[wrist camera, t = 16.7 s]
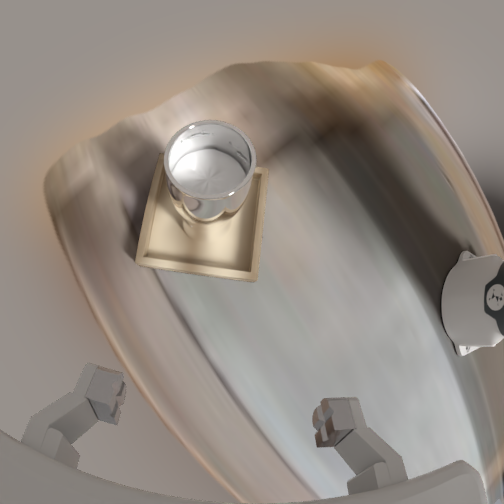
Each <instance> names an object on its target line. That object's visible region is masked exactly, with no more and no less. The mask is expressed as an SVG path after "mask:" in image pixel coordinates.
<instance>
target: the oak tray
mask: <svg viewBox="0 0 504 504" xmlns="http://www.w3.org/2000/svg"><path fill="white" fill-rule="evenodd" d="M268 174H269V169H266V168H261V167H256V168H255V171H254V174H253V179H252V184H251V187H250V190H249V193H248V196H247V198H246V200H245V202H244V204H243V206H242V207H241V209H240V210H239V211H238V212H237V214H236V215H235V216H234V217H233V218H232V225H231V228H230V230H229V232H228V233H227V234H226V236H225V237H223V238H222V239H221V240H219V241H217V242H214V243H200V242H197V241H195V240H193V239H191V238H190V237H189V236H188V235H187V234H186V233H185V231H184V229H183V227H182V223H181V215H180V214H179V213H178V211H177V210H176V209H175V207H174V205H173V204H172V201H171V199H170V196H169V193H168V189H167V184H166V176H165V167H164V154H163V153H160V154H159V158H158V161H157V165H156V168H155V172H154V176H153V180H152V184H151V188H150V192H149V196H148V200H147V204H146V209H145V213H144V218H143V223H142V227H141V232H140V237H139V243H138V248H137V254H136V259H135V263H136V264H137V265H139V266H142V267H148V268H155V269H161V270H168V271H174V272H181V273H188V274H195V275H202V276H209V277H216V278H224V279H231V280H239V281H247V282H255V281H257V280H258V270H259V261H260V252H261V242H262V233H263V223H264V214H265V204H266V194H267V184H268Z"/></svg>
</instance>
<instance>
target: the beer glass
mask: <svg viewBox="0 0 504 504" xmlns="http://www.w3.org/2000/svg"><path fill="white" fill-rule="evenodd" d="M164 167H165V176H166V184H167V189H168V193H169V196H170V199H171V201H172V204H173V205H174V207H175V209H176V210H177V211H178V213H179V214H180V215H181V223H182V227H183V229H184V231H185V233H186V234H187V235H188V236H189V237H190V238H191V239H193V240H195V241H197V242H200V243H214V242H217V241H219V240H221V239H222V238H223V237H225V236H226V234H227V233H228V232H229V230H230V228H231V225H232V218H233V217H234V216H235V215H236V214H237V212H238V211H239V210H240V209H241V207H242V206H243V204H244V202H245V200H246V198H247V196H248V193H249V190H250V187H251V184H252V179H253V174H254V171H255V168H256V152H255V148H254V146H253V144H252V142H251V140H250V139H249V137H248V136H247V135H246V134H245V133H244V132H243V131H242V130H240V129H239V128H237V127H236V126H234V125H232V124H229V123H226V122H223V121H217V120H204V121H198V122H195V123H192V124H189V125H187V126H185V127H184V128H182V129H181V130H179V131H178V132H177V133H176V134H175V135H174V136H173V137H172V138H171V140H170V141H169V143H168V145H167V147H166V150H165V154H164Z"/></svg>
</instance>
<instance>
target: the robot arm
mask: <svg viewBox="0 0 504 504" xmlns="http://www.w3.org/2000/svg"><path fill="white" fill-rule="evenodd" d="M441 306H442V318H443V323H444V327H445V330H446V332H447V334H448V336H449V337H450V338H451V340H452V341H453V342H454V344H455V348H456V352H457V354H458V356H464V355H466V354H468V353H470V352H472V351H474V350H476V349H477V348H479V347H493V346H495V345H496V344H497V343H499V342H500V341H501V340H502V339H503V338H504V261H503V260H502V259H501V258H500V257H499V256H497V254H491V255H486V256H480V257H476V256H475V255H473V254H472V253H470V252H469V251H463V252H462V253H461V254H460V257H459V260H458V262H457V264H456V265H455V266H454V267H453V268H452V269H451V271H450V272H449V274H448V276H447V278H446V280H445V283H444V287H443V292H442V305H441ZM123 378H124V376H123V373H122V372H119V371H115V370H111V369H108V368H104V367H101V366H99V365H95V364H92V363H87V364H86V365H85V367H84V369H83V371H82V374H81V376H80V378H79V380H78V382H77V385H76V387H75V389H74V392H73V393H71V392H69V393H68V394H66V395H65V396H63V397H62V398H60V399H58V400H57V401H55V402H54V403H52V404H51V405H49V406H47V407H46V408H44V409H43V410H41V411H39V412H38V413H36V414H35V415H33V416H31V418H30V420H29V423H28V425H27V428H26V430H25V432H24V435H23V438H22V440H21V442H20V441H18V440H16V439H15V438H13V437H11V436H10V435H8V434H7V433H5V432H3V431H2V430H0V504H246V503H224V502H211V501H202V500H193V499H186V498H179V497H174V496H168V495H163V494H158V493H153V492H148V491H144V490H140V489H136V488H132V487H128V486H125V485H121V484H118V483H115V482H112V481H108V480H105V479H102V478H99V477H96V476H93V475H91V474H88V473H85V472H83V471H80V470H78V469H77V465H78V462H79V458H80V455H79V453H78V452H77V451H76V450H75V448H74V447H73V446H72V445H71V444H72V443H74V442H75V441H76V440H77V439H78V438H79V437H80V436H82V435H83V434H84V433H85V432H86V431H88V430H89V429H90V428H91V427H92V426H93V425H94V424H96V423H97V422H98V420H100V421H104V422H107V423H111V424H114V425H117V424H118V421H119V417H120V414H121V411H120V408H119V406H121V405H122V404H123V403H124V400H125V395H126V384H125V383H124V382H123ZM312 421H313V427H314V428H315V429H316V430H317V432H316V434H315V440H316V445H317V448H318V447H334V448H335V449H336V451H337V452H338V453H339V454H340V456H341V457H342V458H343V459H344V461H345V462H346V463H347V464H348V465H349V467H350V468H351V469H352V470H353V471H354V473H355V474H356V476H355V477H353V478H352V479H350V480H349V481H348V482H347V487H348V492H349V495H347V496H341V497H335V498H329V499H321V500H313V501H303V502H291V503H269V504H488V502H487V497H486V492H485V488H484V484H483V481H482V478H481V476H480V474H479V472H478V471H477V470H476V469H475V468H473V467H472V466H471V465H469V464H468V463H466V462H465V461H463V460H459V461H456V462H453V463H451V464H449V465H446V466H444V467H442V468H439V469H437V470H434V471H432V472H429V473H426V474H424V475H421V476H418V477H415V478H412V479H409V480H408V477H407V474H406V470H405V467H404V463H403V460H402V457H401V456H400V455H399V454H398V453H397V452H396V451H395V450H393V449H392V448H391V447H390V446H389V445H388V444H387V443H386V442H385V441H384V440H383V439H381V438H380V437H379V436H378V435H377V434H376V433H375V432H374V431H373V430H372V429H371V428H367V426H366V423H365V419H364V416H363V413H362V409H361V406H360V403H359V400H358V398H356V397H346V398H345V397H341V398H324V399H323V400H322V401H321V405H320V406H318V407H317V408H316V409H315V410H314V413H313V420H312Z"/></svg>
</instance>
